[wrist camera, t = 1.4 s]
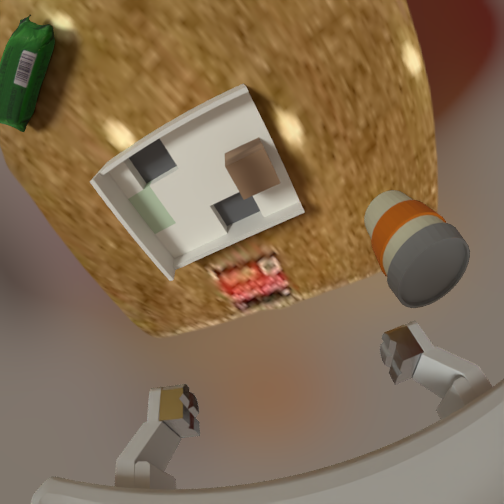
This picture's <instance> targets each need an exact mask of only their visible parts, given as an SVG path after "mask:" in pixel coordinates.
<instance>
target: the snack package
mask: <svg viewBox="0 0 504 504" xmlns="http://www.w3.org/2000/svg"><path fill="white" fill-rule="evenodd" d="M30 16H31V14H30V15H29V17H30ZM29 17H27V18H24V19H23V20H20V24H19V26H18V28H17V29H16V30H15V31H14V33H13V34H12V36H11V37H10V39H9V41H8V43H7V45H6V47H5V50H4V53H3V56H2V59H1V62H0V123H2V124H6V125H9V126H12V127H14V128H16V129H18V130H20V131H22V132H24V131H25V129H26V126H27V123H28V122H29V120H30V118H31V116H32V115H33V113H34V110H35V106H36V102H37V98H38V94H39V90H40V87H41V84H42V82H43V79H44V76H45V73H46V70H47V67H48V64H49V61H50V58H51V55H52V52H53V49H54V45H55V39H54V31H53V27H52V26H51V25H50V24H47V25H37V24H36V23H33V22H31V21H30V20H29Z"/></svg>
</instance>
